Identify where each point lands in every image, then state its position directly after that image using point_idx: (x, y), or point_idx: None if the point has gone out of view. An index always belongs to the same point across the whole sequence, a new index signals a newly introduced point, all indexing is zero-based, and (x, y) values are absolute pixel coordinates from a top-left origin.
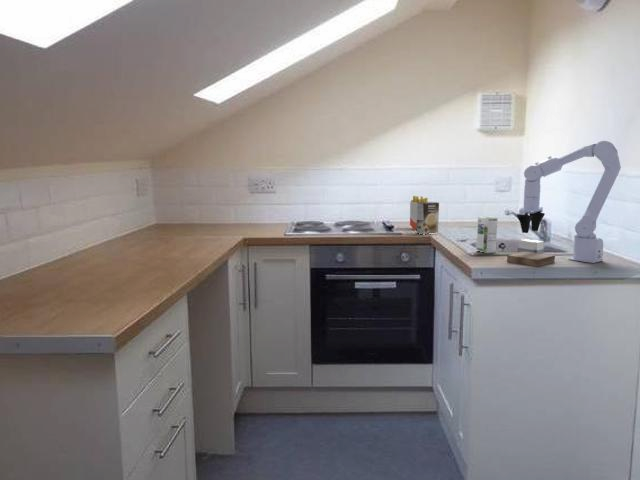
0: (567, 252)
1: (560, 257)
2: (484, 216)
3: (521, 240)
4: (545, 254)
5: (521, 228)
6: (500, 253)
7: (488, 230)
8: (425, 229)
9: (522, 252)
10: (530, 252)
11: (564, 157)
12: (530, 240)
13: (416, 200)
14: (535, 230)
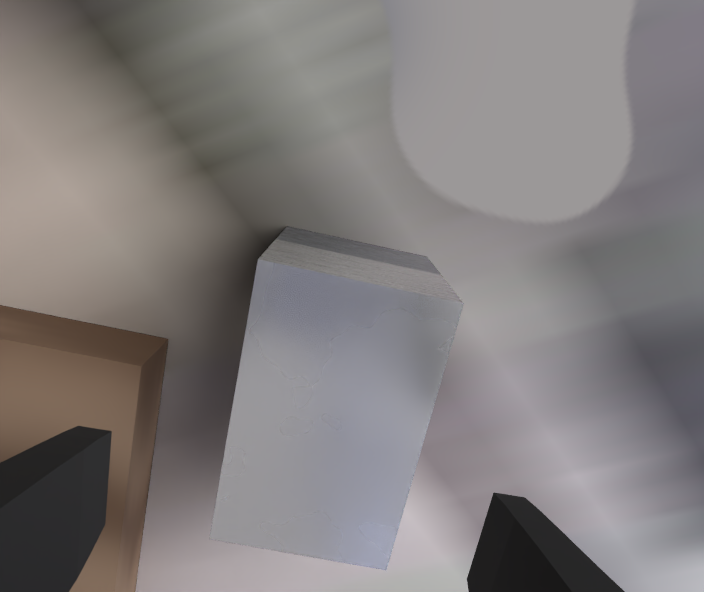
0: (700, 564)
1: (397, 578)
2: None
3: (272, 308)
4: (103, 579)
5: (4, 463)
6: (259, 15)
7: None
8: None
9: (47, 370)
10: (113, 437)
11: None
12: (351, 415)
13: None
14: (476, 563)
